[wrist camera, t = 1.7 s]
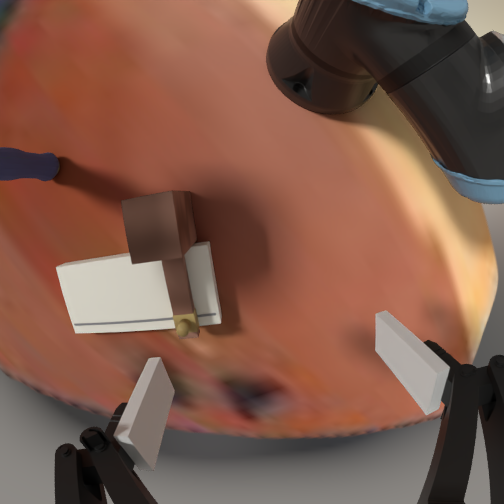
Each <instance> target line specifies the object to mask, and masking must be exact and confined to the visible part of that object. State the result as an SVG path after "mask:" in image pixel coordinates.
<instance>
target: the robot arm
mask: <svg viewBox="0 0 504 504" xmlns="http://www.w3.org/2000/svg"><path fill="white" fill-rule="evenodd" d="M467 12H468V3H467V0H299V1H298V4H297V7H296V10H295V13H294V16H293V17H292V18H290V19H289V20H288V21H287V22H285V23H284V24H283V25H281V26H280V27H279V28H278V29H277V30H276V31H275V32H274V34H273V36H272V37H271V39H270V42H269V46H268V50H267V55H266V62H267V68H268V71H269V74H270V76H271V78H272V80H273V82H274V83H275V85H276V86H277V87H278V89H279V90H280V91H281V92H282V93H283V94H284V95H285V96H286V97H287V98H289V99H290V100H291V101H293V102H294V103H296V104H298V105H299V106H301V107H303V108H306V109H308V110H311V111H314V112H318V113H323V114H342V113H346V112H349V111H352V110H354V109H356V108H358V107H359V106H361V105H362V104H364V103H365V102H366V101H367V100H368V99H369V98H370V97H371V96H372V95H373V93H374V92H375V90H376V88H377V85H378V84H379V85H380V86H381V87H382V88H383V89H384V91H385V92H386V93H387V95H388V96H389V97H390V98H391V99H392V101H393V102H394V103H395V104H396V106H397V107H398V108H399V109H400V111H401V112H402V113H403V114H404V116H405V117H406V118H407V120H408V121H409V122H410V124H411V125H412V126H413V128H414V129H415V131H416V132H417V133H418V135H419V136H420V138H421V139H422V141H423V142H424V144H425V145H426V147H427V148H428V150H429V152H430V154H431V157H432V159H433V161H434V162H435V164H436V165H437V166H438V167H439V168H440V169H441V170H442V171H443V173H444V174H445V176H446V177H447V179H448V181H449V182H450V184H451V185H452V187H453V188H454V189H455V190H456V191H457V192H458V193H459V194H461V195H462V196H464V197H468V198H469V199H470V200H472V201H475V202H478V203H484V204H502V203H504V35H503V34H500V33H498V32H495V31H491V32H489V33H487V34H485V35H484V36H482V37H478V36H477V35H476V34H475V32H474V31H473V30H472V28H471V27H470V26H469V25H468V23H467V22H466V21H465V20H464V19H465V18H466V14H467ZM375 351H376V352H377V353H378V354H379V356H380V357H381V358H382V359H383V361H384V362H385V363H386V364H387V366H388V367H389V368H390V369H391V371H392V372H393V373H394V374H395V376H396V377H397V378H398V379H399V381H400V382H401V383H402V384H403V386H404V387H405V388H406V390H407V391H408V392H409V393H410V395H411V396H412V397H413V399H414V400H415V401H416V402H417V404H418V405H419V406H420V408H421V409H422V410H423V411H424V413H425V414H426V415H428V414H430V413H432V412H434V411H436V410H438V409H439V406H440V403H441V401H442V402H443V403H444V404H445V407H444V410H443V413H442V416H441V419H442V421H441V426H440V431H439V435H438V439H437V443H436V448H435V451H434V455H433V459H432V462H431V465H430V469H429V472H428V475H427V478H426V481H425V484H424V487H423V490H422V492H421V495H420V498H419V500H418V503H417V504H465V503H464V497H465V493H466V489H467V484H468V480H469V475H470V470H471V465H472V459H473V453H474V446H475V439H476V429H477V418H478V410H479V415H480V419H481V424H482V429H483V434H484V439H485V446H486V452H487V460H488V468H489V479H490V496H491V504H504V356H503V355H496V356H494V357H492V358H491V359H490V362H489V365H488V366H485V367H481V368H476V367H475V366H473V365H470V364H462V365H461V364H460V363H459V362H458V361H457V360H455V359H454V358H453V357H452V356H451V355H450V354H448V353H446V351H445V350H444V349H442V347H440V346H439V345H438V344H437V343H435V342H432V341H430V340H427V341H425V342H422V341H421V340H420V339H418V338H417V337H416V336H415V335H414V334H413V333H412V332H411V331H409V330H408V329H407V328H406V327H405V326H404V325H403V324H401V323H400V322H399V321H398V320H397V319H396V318H395V317H393V316H392V315H391V314H390V313H389V312H388V311H383V312H379V313H376V343H375ZM174 392H175V391H174V388H173V386H172V384H171V382H170V379H169V377H168V375H167V372H166V370H165V367H164V365H163V363H162V360H161V358H160V357H156V358H149V359H148V361H147V363H146V365H145V368H144V370H143V372H142V374H141V376H140V378H139V380H138V382H137V384H136V387H135V389H134V391H133V393H132V395H131V397H130V399H129V402H128V403H121V404H120V405H119V406H118V407H117V408H116V410H115V412H114V414H113V416H112V418H111V422H109V425H108V427H107V429H106V431H105V433H104V432H103V431H102V430H101V428H98V427H90V428H88V429H86V430H84V431H83V432H82V433H81V435H80V442H81V443H82V444H83V446H84V447H85V448H86V449H79V450H77V449H76V448H75V446H74V445H72V444H69V443H68V444H63V445H61V446H60V447H58V449H57V450H56V453H55V504H107V499H106V495H105V490H104V486H105V488H106V490H107V492H108V494H109V496H110V497H111V499H112V501H113V503H114V504H158V503H157V502H156V500H155V499H154V498H153V496H152V495H151V494H150V492H149V491H148V490H147V488H146V487H145V486H144V484H143V483H142V481H141V480H140V478H139V477H138V475H137V474H136V473H135V471H134V470H133V468H134V464H135V465H136V466H137V467H138V468H139V469H140V470H146V471H154V468H155V464H156V460H157V456H158V451H159V448H160V444H161V440H162V436H163V432H164V429H165V425H166V421H167V417H168V414H169V410H170V406H171V403H172V399H173V396H174Z"/></svg>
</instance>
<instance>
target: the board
mask: <svg viewBox="0 0 504 504" xmlns="http://www.w3.org/2000/svg"><path fill="white" fill-rule="evenodd" d="M185 261H186V266H187V272H188V277H189V282H190V287H191V292H192V297H193V302H194V307H195V308H196V312H197V317H198V322H199V326H203V325H212V324H221V319H222V313H221V307H220V302H219V296H218V290H217V284H216V279H215V273H214V266H213V260H212V254H211V248H210V241H207V242H200V243H194V244H193V245H192V246H191V248H190V249H189V250H188V251H187V253H186V254H185ZM56 269H57V273H58V277H59V281H60V285H61V289H62V292H63V296H64V299H65V302H66V306H67V309H68V312H69V315H70V318H71V321H72V324H73V327H74V330H75V333H104V332H127V331H144V330H158V329H171V328H175V324H174V320H173V312H172V308H171V303H170V299H169V295H168V290H167V286H166V281H165V276H164V271H163V266H162V261H154V262H147V263H140V264H132V262H131V257H130V253H125V254H119V255H112V256H106V257H100V258H93V259H87V260H81V261H75V262H69V263H64V264H62V265H60V266H58V267H56Z"/></svg>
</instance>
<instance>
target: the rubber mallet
mask: <svg viewBox="0 0 504 504" xmlns="http://www.w3.org/2000/svg"><path fill="white" fill-rule="evenodd" d="M59 168H60V163H59V161H58V158H57V157H56V156H55V155H54V154H53V153H44V154H36V153H28V152H24V151H21V150H18V149H14V148H6V147H1V148H0V180H7V181H8V180H14V179H19V178H37V179H39V180H42V181H48V180H51V179H52V178H54V177H55V176H56V174H57V173H58V171H59Z"/></svg>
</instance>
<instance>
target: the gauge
mask: <svg viewBox="0 0 504 504" xmlns="http://www.w3.org/2000/svg"><path fill="white" fill-rule="evenodd" d="M121 205H122V212H123V219H124V225H125V231H126V236H127V242H128V247H129V252H130V257H131V262H132V264H140V263H147V262H154V261H162V266H163V271H164V276H165V281H166V286H167V290H168V295H169V299H170V303H171V308H172V312H173V320H174V324H175V328H176V332H177V334H178V336H179V339H186V338H197V337H199V333H200V330H199V322H198V317H197V312H196V308H195V307H194V302H193V297H192V292H191V287H190V282H189V277H188V272H187V266H186V261H185V254H186V253H187V251H188V250H189V249H190V248H191V246H192V245H193V244H194V243H195V242H196V240H197V235H196V229H195V222H194V215H193V208H192V201H191V194H190V191H167V192H162V193H156V194H151V195H146V196H141V197H136V198H131V199H126V200H122V201H121Z"/></svg>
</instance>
